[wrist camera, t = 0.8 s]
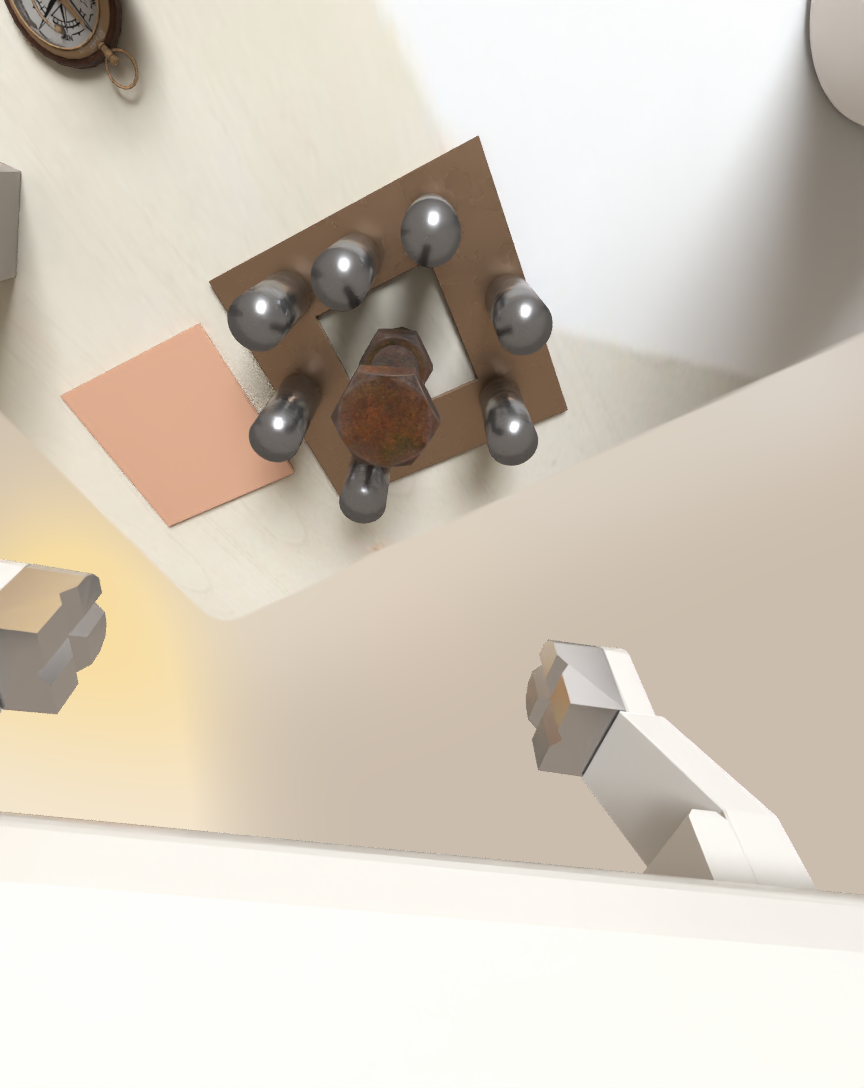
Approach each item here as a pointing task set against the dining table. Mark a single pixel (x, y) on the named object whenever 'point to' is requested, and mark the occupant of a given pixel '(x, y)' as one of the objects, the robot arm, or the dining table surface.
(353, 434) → the bolt
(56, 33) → the compass
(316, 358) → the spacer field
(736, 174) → the dining table surface
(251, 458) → the pad
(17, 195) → the perfume bottle
